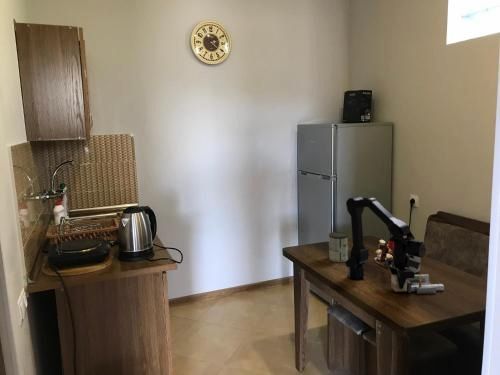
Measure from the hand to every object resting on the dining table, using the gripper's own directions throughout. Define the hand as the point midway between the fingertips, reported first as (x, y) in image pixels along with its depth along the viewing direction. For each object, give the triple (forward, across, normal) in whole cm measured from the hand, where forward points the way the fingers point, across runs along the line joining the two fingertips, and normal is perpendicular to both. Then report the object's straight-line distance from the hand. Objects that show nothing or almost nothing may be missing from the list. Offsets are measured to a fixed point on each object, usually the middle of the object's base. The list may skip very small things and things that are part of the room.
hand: (398, 286), depth 180 cm
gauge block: (+1, 0, 0) cm, 1 cm away
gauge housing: (+2, +1, -9) cm, 9 cm away
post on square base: (+2, 0, -11) cm, 11 cm away
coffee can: (+3, +46, +16) cm, 49 cm away
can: (+3, +24, -16) cm, 29 cm away
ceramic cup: (+3, +40, -16) cm, 43 cm away
